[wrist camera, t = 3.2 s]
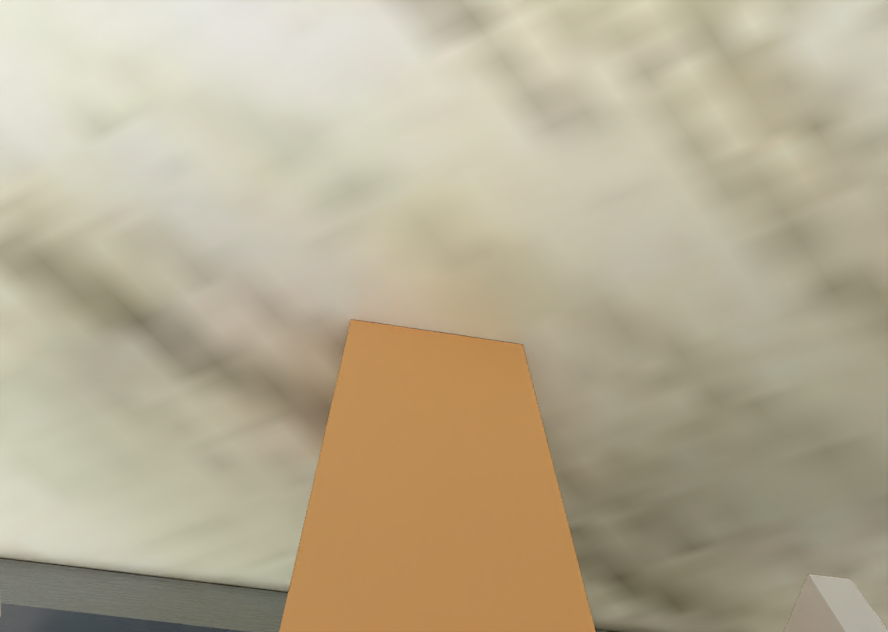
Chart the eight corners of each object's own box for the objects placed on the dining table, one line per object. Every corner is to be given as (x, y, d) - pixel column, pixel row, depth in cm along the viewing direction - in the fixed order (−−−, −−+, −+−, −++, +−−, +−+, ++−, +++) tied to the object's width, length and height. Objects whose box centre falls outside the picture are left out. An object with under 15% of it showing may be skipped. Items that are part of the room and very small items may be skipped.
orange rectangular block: (522, 344, 19) (653, 859, 8) (490, 488, 20) (563, 1091, 9) (350, 319, 19) (236, 819, 8) (330, 467, 20) (211, 1065, 9)
